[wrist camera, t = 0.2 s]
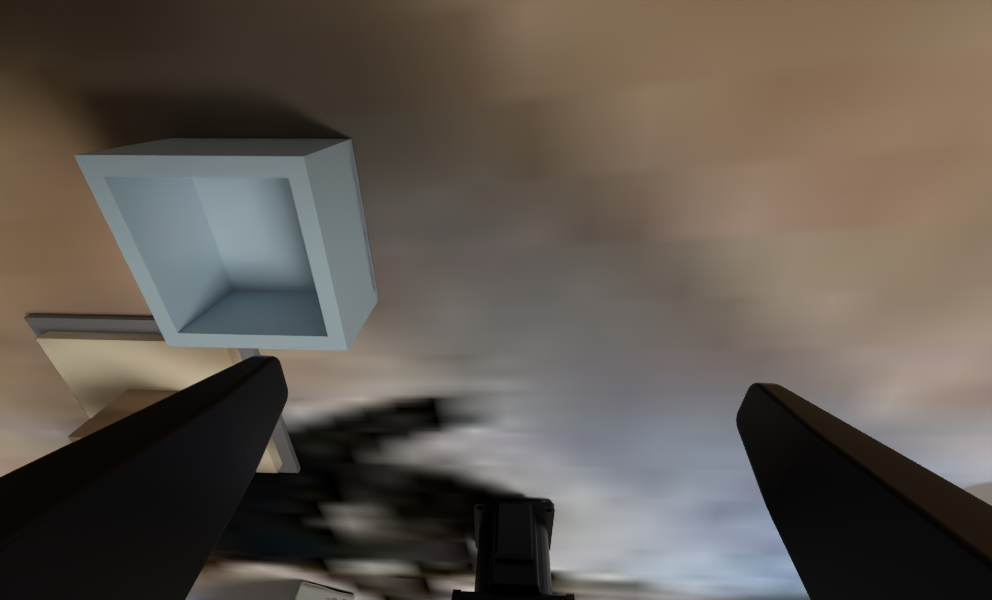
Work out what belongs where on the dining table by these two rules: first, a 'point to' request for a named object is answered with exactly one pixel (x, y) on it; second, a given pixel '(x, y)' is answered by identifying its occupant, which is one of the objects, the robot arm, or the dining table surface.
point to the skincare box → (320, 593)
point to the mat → (149, 325)
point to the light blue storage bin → (241, 238)
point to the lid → (133, 374)
